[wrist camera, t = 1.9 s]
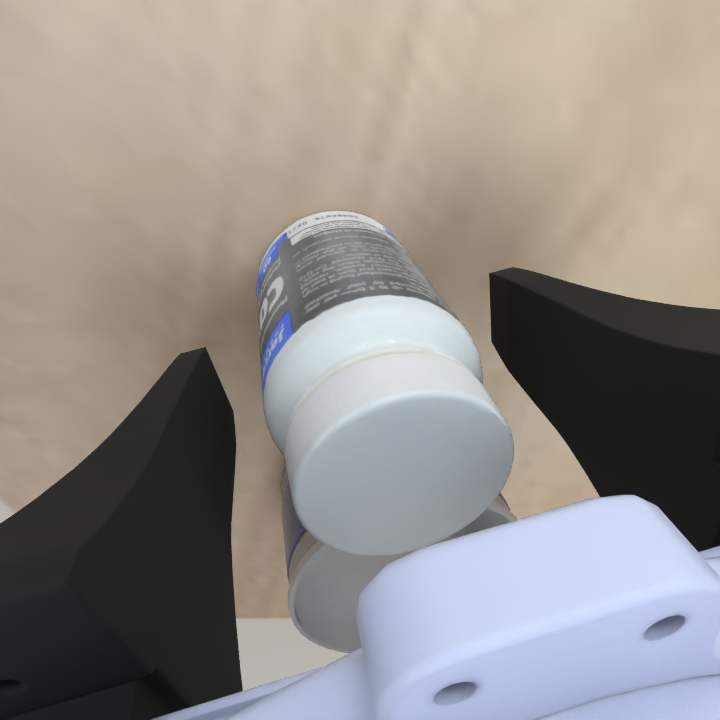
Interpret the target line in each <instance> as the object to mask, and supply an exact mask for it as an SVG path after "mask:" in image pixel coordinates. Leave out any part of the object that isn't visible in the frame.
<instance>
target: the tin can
mask: <svg viewBox="0 0 720 720" xmlns="http://www.w3.org/2000/svg"><path fill="white" fill-rule="evenodd" d="M281 486H282V517H283V529H284V541H285V553H286V565H287V576H288V580H289V584H290V585H289V590H288V607H289V612H290V616H291V619H292V621H293V623H294V625H295V626H296V628H297V629H298V630H299V631H300V633H301V634H302V635H304V636H305V637H306V638H308V639H309V640H310V641H312V642H314V643H316V644H317V645H320V646H322V647H325V648H328V649H331V650H335V651H339V652H344V653H351V652H353V651H355V650H357V649H359V648H361V647H362V645H361V640H360V635H359V630H358V625H357V620H356V616H357V608H358V601H359V594H360V593H361V592H362V590H363V589H364V588H365V587H366V586H367V585H368V584H369V583H370V582H371V580H372V579H373V578H374V577H375V576H376V575H377V574H378V573H379V572H380V571H381V570H382V569H383V568H384V567H385V566H386V565H387V564H389V563H391V562H393V561H395V560H397V559H400V558H402V557H404V556H406V555H408V554H410V553H412V552H414V551H416V550H414V551H408V552H405V553H401V554H394V555H379V556H372V555H355V554H350V553H346V552H342V551H338V550H336V549H333V548H331V547H329V546H327V545H325V544H323V543H321V542H320V541H318V540H317V539H316V538H315V537H313V536H312V535H311V534H310V533H309V532H308V531H307V530H306V529H305V528H304V527H303V525H302V524H301V522H300V520H299V518H298V516H297V514H296V512H295V509H294V506H293V502H292V497H291V490H290V484H289V478H288V473H287V469H286V465H285V468H284V471H283V476H282V482H281ZM516 520H518V519H517V518H516V517H515V516H514V514H512V513H511V512H510V509H509V507H508V504H507V502H506V500H505V499H504V497H503V495H502V493H501V492H500V493H499V495H498V496H497V498H496V499H495V500H494V501H493V503H492V504H491V505H490V506H489V507H488V508H487V509H486V510H485V511H484V512H483V513H482V514H481V515H479V516H478V518H476V519H475V520H474V521H472V522H471V523H470V524H468V525H467V526H466V527H464V528H463V529H461V530H460V531H458V532H456V533H454V534H453V535H451V536H449V537H447V538H445V539H443V540H441V541H439V542H437V543H441V542H444V541H448V540H451V539H454V538H458V537H461V536H465V535H468V534H472V533H475V532H478V531H482V530H485V529H489V528H492V527H495V526H499V525H502V524H506V523H509V522H512V521H516ZM437 543H434V544H437ZM434 544H432V545H434ZM429 546H431V545H429ZM418 550H419V549H418Z"/></svg>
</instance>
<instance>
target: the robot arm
mask: <svg viewBox="0 0 720 720" xmlns="http://www.w3.org/2000/svg"><path fill="white" fill-rule="evenodd" d="M489 278H490V309H491V340H492V343H493V345H494V347H495V349H496V350H497V352H498V354H499V356H500V358H501V359H502V361H503V362H504V364H505V366H506V367H507V369H508V371H509V372H510V373H511V374H512V376H513V377H514V378H515V380H516V381H517V382H518V383H519V385H520V386H521V387H522V388H523V389H524V391H525V392H526V393H527V394H528V396H529V397H530V398H531V399H532V400H533V402H534V403H535V404H536V405H537V407H538V408H539V409H540V410H541V411H542V413H543V414H544V415H545V416H546V418H547V419H548V420H549V421H550V422H551V424H552V425H553V426H554V427H555V428H556V430H557V431H558V432H559V434H560V435H561V436H562V438H563V439H564V440H565V442H566V443H567V445H568V446H569V448H570V449H571V451H572V452H573V454H574V455H575V457H576V459H577V460H578V462H579V463H580V465H581V466H582V468H583V469H584V471H585V473H586V474H587V476H588V477H589V479H590V481H591V482H592V484H593V486H594V487H595V489H596V491H597V492H598V494H599V496H600V497H599V498H591V499H587V500H584V501H581V502H577V503H574V504H570V505H567V506H564V507H560V508H557V509H553V510H550V511H547V512H543V513H540V514H536V515H533V516H529V517H526V518H523V519H519V520H516V521H512V522H509V523H506V524H502V525H499V526H495V527H492V528H489V529H485V530H482V531H478V532H475V533H472V534H468V535H465V536H461V537H458V538H454V539H451V540H448V541H444V542H441V543H437V544H434V545H431V546H427V547H424V548H421V549H419V550H416V551H414V552H412V553H410V554H408V555H406V556H404V557H402V558H400V559H397V560H395V561H393V562H391V563H389V564H387V565H386V566H385V567H384V568H383V569H382V570H381V571H380V572H379V573H378V574H377V575H376V576H375V577H374V578H373V579H372V580H371V582H370V583H369V584H368V585H367V586H366V587H365V588H364V589H363V590H362V592H361V593H360V594H359V601H358V608H357V616H356V620H357V625H358V630H359V635H360V640H361V645H362V647H361V648H359V649H357V650H355V651H353V652H351V653H349V654H348V655H346V656H344V657H342V658H340V659H338V660H336V661H334V662H332V663H330V664H328V665H326V666H324V667H320V668H317V669H314V670H311V671H308V672H304V673H301V674H298V675H295V676H291V677H288V678H284V679H281V680H278V681H275V682H271V683H268V684H265V685H261V686H258V687H255V688H252V689H249V690H245V691H243V689H242V680H241V672H240V661H239V650H238V639H237V628H236V616H235V602H234V587H233V571H232V550H231V519H232V504H233V490H234V475H235V458H236V435H235V423H234V413H233V409H232V407H231V405H230V402H229V400H228V398H227V395H226V393H225V391H224V389H223V386H222V384H221V382H220V379H219V377H218V375H217V372H216V370H215V368H214V366H213V363H212V361H211V359H210V356H209V354H208V352H207V350H206V347H204V348H200V349H197V350H193V351H189V352H185V353H181V354H180V355H179V356H178V357H177V358H176V359H175V360H174V361H173V362H172V364H171V365H170V366H169V367H168V368H167V370H166V371H165V372H164V373H163V375H162V376H161V377H160V378H159V380H158V381H157V382H156V383H155V385H154V386H153V387H152V388H151V390H150V391H149V392H148V393H147V394H146V396H145V397H144V398H143V399H142V401H141V402H140V403H139V404H138V405H137V406H136V407H135V408H134V410H133V411H132V412H131V413H130V414H129V415H128V416H127V417H126V418H125V420H124V421H123V422H122V423H121V424H120V425H119V426H118V427H117V428H116V429H115V431H114V432H113V433H112V434H111V435H110V436H109V437H108V438H107V439H106V440H105V441H104V442H103V443H102V444H101V445H100V446H99V447H98V448H96V449H95V450H94V451H93V452H92V453H91V454H90V455H89V456H88V457H87V458H85V459H84V460H83V461H82V462H81V463H80V464H79V465H78V466H76V467H75V468H74V469H73V470H72V471H70V472H69V473H68V474H67V475H65V476H64V477H63V478H62V479H60V480H59V481H58V482H57V483H55V484H54V485H53V486H51V487H50V488H49V489H48V490H46V491H45V492H44V493H43V494H41V495H40V496H39V497H38V498H36V499H35V500H33V501H32V502H31V503H29V504H28V505H26V506H25V507H24V508H22V509H21V510H19V511H18V512H17V513H15V514H14V515H12V516H11V517H9V518H8V519H6V520H5V521H3V522H2V523H0V720H720V310H717V309H706V308H694V307H686V306H677V305H670V304H664V303H658V302H651V301H645V300H640V299H635V298H630V297H625V296H621V295H616V294H612V293H608V292H603V291H600V290H596V289H592V288H588V287H584V286H581V285H577V284H574V283H570V282H567V281H563V280H560V279H557V278H553V277H550V276H546V275H543V274H539V273H536V272H532V271H528V270H524V269H520V268H513V267H512V268H508V269H504V270H501V271H497V272H493V273H489Z"/></svg>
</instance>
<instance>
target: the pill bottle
mask: <svg viewBox="0 0 720 720" xmlns="http://www.w3.org/2000/svg"><path fill="white" fill-rule="evenodd" d="M257 304H258V320H259V341H260V356H261V377H262V393H263V407H264V414H265V418H266V422H267V426H268V429H269V431H270V434H271V436H272V438H273V440H274V442H275V444H276V445H277V447H278V448H279V450H280V451H281V453H282V454H283V455H284V456H285V465H286V469H287V473H288V478H289V484H290V490H291V497H292V502H293V506H294V509H295V512H296V514H297V516H298V518H299V520H300V522H301V524H302V525H303V527H304V528H305V529H306V530H307V531H308V532H309V533H310V534H311V535H312V536H313V537H315V538H316V539H317V540H318V541H320V542H321V543H323V544H325V545H327V546H329V547H331V548H333V549H336V550H338V551H342V552H346V553H350V554H355V555H372V556H379V555H394V554H401V553H405V552H408V551H414V550H418V549H421V548H424V547H427V546H429V545H432V544H434V543H437V542H439V541H441V540H443V539H445V538H447V537H449V536H451V535H453V534H454V533H456V532H458V531H460V530H461V529H463V528H464V527H466V526H467V525H468V524H470V523H471V522H472V521H474V520H475V519H476V518H478V516H479V515H481V514H482V513H483V512H484V511H485V510H486V509H487V508H488V507H489V506H490V505H491V504H492V503H493V501H494V500H495V499H496V498H497V496H498V495H499V493H500V492H501V490H502V489H503V487H504V485H505V483H506V481H507V479H508V476H509V473H510V470H511V467H512V463H513V457H514V445H513V438H512V434H511V431H510V428H509V426H508V424H507V422H506V420H505V418H504V417H503V415H502V414H501V412H500V411H499V409H498V408H497V406H496V405H495V403H494V402H493V400H492V399H491V397H490V396H489V394H488V393H487V391H486V390H485V388H484V387H483V385H482V383H483V381H482V367H481V362H480V358H479V354H478V351H477V349H476V347H475V345H474V343H473V340H472V339H471V337H470V335H469V333H468V332H467V330H466V329H465V327H464V326H463V324H462V323H461V322H460V321H459V319H458V318H457V317H456V315H455V314H454V313H453V311H452V310H451V309H450V308H449V307H448V305H447V304H446V303H445V301H444V300H443V299H442V298H441V297H440V295H439V294H438V292H437V291H436V290H435V288H434V287H433V286H432V284H431V283H430V282H429V280H428V279H427V278H426V277H425V275H424V274H423V273H422V272H421V270H420V269H419V268H418V266H417V265H416V264H415V262H414V261H413V260H412V259H411V257H410V256H409V254H408V253H407V252H406V250H405V249H404V248H403V246H402V245H401V244H400V242H399V241H398V240H397V239H396V238H395V237H394V235H393V234H391V233H390V232H389V231H388V230H387V229H386V228H385V227H384V226H382V225H381V224H379V223H378V222H376V221H375V220H373V219H371V218H369V217H367V216H364V215H362V214H358V213H354V212H347V211H328V212H321V213H317V214H314V215H310V216H307V217H304V218H302V219H300V220H298V221H297V222H295V223H294V224H292V225H291V226H289V227H288V228H286V229H285V230H284V231H283V232H282V233H281V234H280V235H279V236H278V237H277V238H276V239H275V240H274V242H273V243H272V244H271V245H270V247H269V248H268V250H267V252H266V253H265V255H264V258H263V260H262V262H261V265H260V269H259V274H258V280H257Z"/></svg>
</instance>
